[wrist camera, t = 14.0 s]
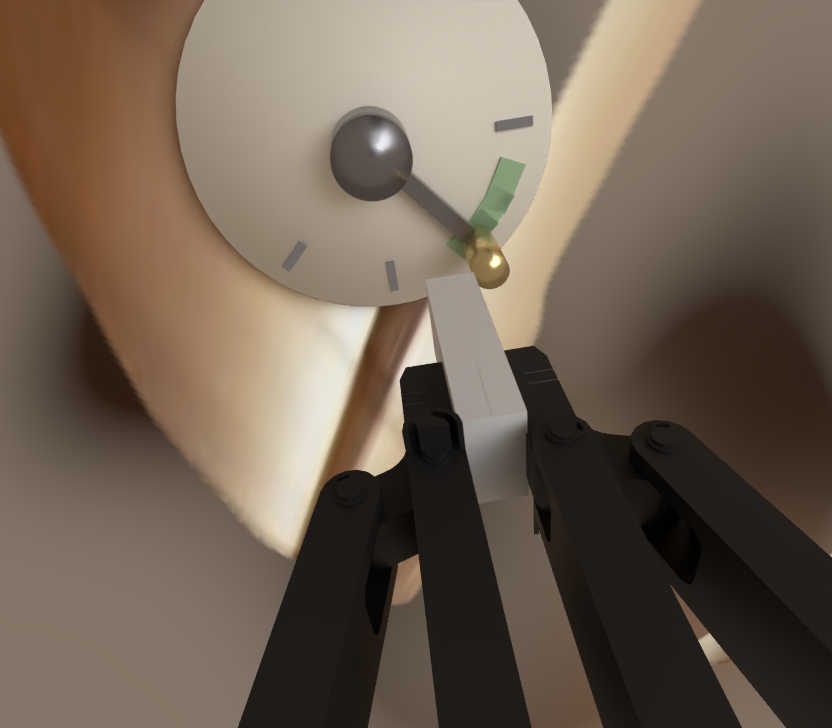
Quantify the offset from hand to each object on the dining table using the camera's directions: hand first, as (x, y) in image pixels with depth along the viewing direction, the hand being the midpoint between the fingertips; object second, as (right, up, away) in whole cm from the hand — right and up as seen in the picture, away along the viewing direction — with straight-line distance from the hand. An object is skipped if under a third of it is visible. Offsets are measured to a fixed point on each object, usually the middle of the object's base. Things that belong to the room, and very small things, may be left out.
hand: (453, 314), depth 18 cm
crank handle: (-1, +10, +21) cm, 23 cm away
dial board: (-4, +13, +20) cm, 25 cm away
